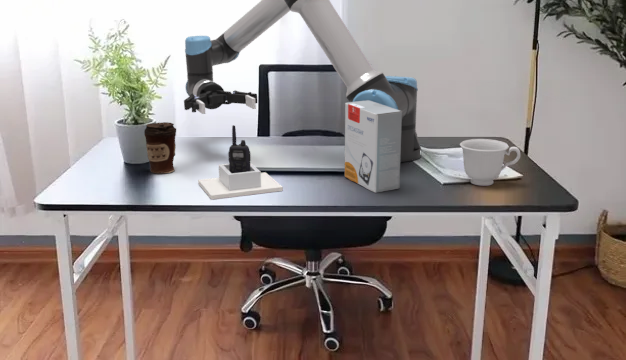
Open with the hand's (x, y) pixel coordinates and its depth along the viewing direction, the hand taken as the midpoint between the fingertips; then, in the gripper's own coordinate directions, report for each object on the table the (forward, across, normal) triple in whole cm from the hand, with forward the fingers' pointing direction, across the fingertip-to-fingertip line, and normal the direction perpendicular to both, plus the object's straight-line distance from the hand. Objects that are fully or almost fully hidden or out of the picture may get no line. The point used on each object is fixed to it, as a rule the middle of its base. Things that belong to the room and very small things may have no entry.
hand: (229, 106), depth 192 cm
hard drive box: (+22, -30, -19) cm, 42 cm away
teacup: (+34, -57, -20) cm, 69 cm away
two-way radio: (+12, +2, -18) cm, 22 cm away
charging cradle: (+12, +2, -18) cm, 22 cm away
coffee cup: (-10, +17, -18) cm, 27 cm away
